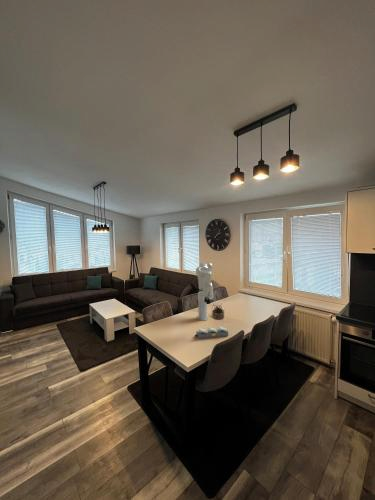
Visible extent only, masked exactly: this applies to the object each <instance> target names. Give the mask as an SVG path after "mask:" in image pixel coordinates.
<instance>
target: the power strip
mask: <svg viewBox="0 0 375 500" xmlns="http://www.w3.org/2000/svg"><path fill="white" fill-rule="evenodd" d="M215 329H216V330H217V332H214V331H210V330H209V329H206V330H207V331H208V333H204V332H200V331H199V330H198V331H197V330H196V332H195V334H194V337H196V338H197V339H198V340H203V339H213V338H221V337H228V336H229V331H228V330H227V331H224V330H220V329H218V328H215Z"/></svg>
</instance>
